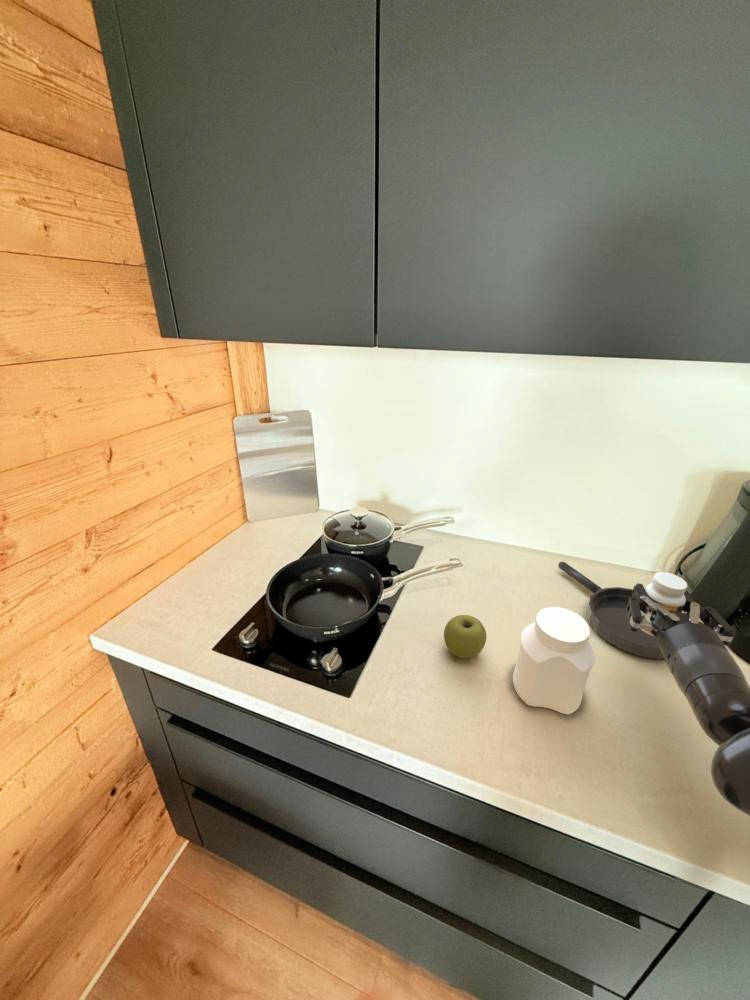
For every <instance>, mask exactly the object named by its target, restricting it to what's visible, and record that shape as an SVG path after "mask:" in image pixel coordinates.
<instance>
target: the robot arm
mask: <svg viewBox="0 0 750 1000" xmlns="http://www.w3.org/2000/svg"><path fill="white" fill-rule="evenodd" d="M645 588H646V587H644V585H643V583H639V582H637V583H636V584H635V585H633V588H632V589H633V591H632V595H633V596H630V598H629V602H628V605H627V607H626V613H627V618H628V624H629V629H630V630H631V631H634V632H637V631H638V629H639V628H640V629H644V630H648V631H650V632H651V634H652V635H653V636H655V637H656V638H657V640H658V644H659V648H660V650H661V652H662V654H663V656H664V658H663V659H664V660H665V663H666V664H667V665H666V666H667V667H668V668H669V671H670V674H671V675H672V677H673V679H674V681H675V683H676V685H677V686H678V689H679V690H680V691H681V693H682V694H683V696H684V697H685V700H686V701H687V703H688V705H689V706H690V707H689V708H690V709H691V710H692V713H693V714H694V717H695V718H696V720H697V723H698V724H699V726H700V727H701V730H702V731H703V733H704V734H705V735H706V736H707V737H708V738H709V739H710V740H711V741H713V743H715V744H716V745H717V746H718V747H717V748H716V750H715V751H714V754H713V756H712V758H711V763H710V774H711V779H712V782H713V785H714V787H715V788H716V790H717V792H718V793H719V794H720V795H721V797H722V798H723V799H724V800H725V801H726V802H728V803H729V804H730V805H731V806H732V807H733V808H736V809H737V810H738V811H740V812H741V813H743V814H746V815H747V816H749V817H750V684H749V683H748V681H747V679H746V676H745V674H744V672H743V671H742V669H741V667H740V666H739V665H738V663H737V661H736V659H735V658H734V657H733V655H732V654H731V652H730V651H729V649H728V648H727V647H728V646H730V645H731V643H732V641H733V639H734V637H735V635H736V630H735V629H734V628H733V627H732V626H731V625H730V624H729V623H728V621H726V620H725V618H723V617H722V616H721V615H720V614H719V612H717V610H716V609H715V608H714V607H712V606H708V605H707V606H705V607H703V606H701V605H700V604H699V603H697V602H696V601H695V600H694V598H693V597H692V595H691V594H690V593H688V592H687V591H686V592H685V593H684V596H685V598H686V603H685V606H684V608H683V610H682V612H672V611H668V610H667V609H665V608H664V607H663V606H662V605H661V604H659V603H654V602H653V601H652V600H651V599H649V598H648V597H649V596H648V594H647V592H646V590H645ZM647 606H648V607H649V610H648V609H647V608H646V607H647ZM641 613H642V614H641ZM658 613H659V614H658ZM657 614H658V615H657ZM644 616H645V617H644Z"/></svg>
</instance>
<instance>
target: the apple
mask: <svg viewBox="0 0 750 1000" xmlns="http://www.w3.org/2000/svg"><path fill="white" fill-rule="evenodd" d="M443 641H444V643H445V645H446V647H447V649H448V650H449V652H450V653H451V654H452V655H454V656H456V657H458V658H460V659H470V658H471V659H472V658H473V657H475V656H478V654H480V653H481V652H482V650H483V649H484V647H485V646H486V643H487V631H486V628H485V626H484V624H483V622H481V621H480V620H479V619H478V618H477V617H475V616H472V615H469V614H458V615H456V616H454V617H452V618H450V620H448V622H447V623H446V625H445V627H444V629H443Z"/></svg>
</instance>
